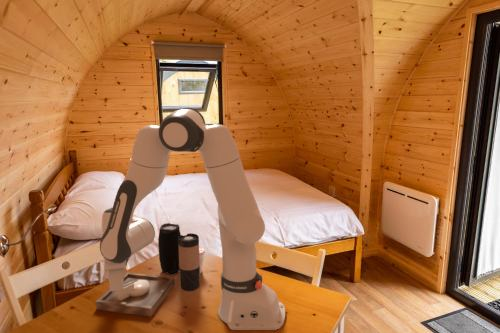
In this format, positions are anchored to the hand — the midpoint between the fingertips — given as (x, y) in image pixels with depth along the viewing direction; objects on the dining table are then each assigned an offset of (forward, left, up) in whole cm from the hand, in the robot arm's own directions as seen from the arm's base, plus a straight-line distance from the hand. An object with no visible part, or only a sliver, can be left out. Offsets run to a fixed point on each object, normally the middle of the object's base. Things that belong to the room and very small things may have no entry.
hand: (119, 288), depth 118 cm
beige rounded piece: (-4, -3, -3) cm, 5 cm away
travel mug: (-20, -14, -5) cm, 25 cm away
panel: (-4, -4, -5) cm, 8 cm away
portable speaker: (-8, -24, -5) cm, 26 cm away
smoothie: (-19, -25, -5) cm, 32 cm away
